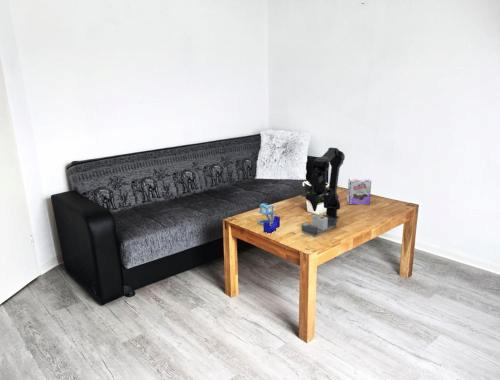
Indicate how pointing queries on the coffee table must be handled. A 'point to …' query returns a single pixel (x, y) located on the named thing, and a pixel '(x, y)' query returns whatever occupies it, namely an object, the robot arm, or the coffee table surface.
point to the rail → (314, 230)
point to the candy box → (359, 191)
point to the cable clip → (273, 227)
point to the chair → (266, 212)
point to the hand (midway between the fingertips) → (319, 209)
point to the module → (319, 222)
